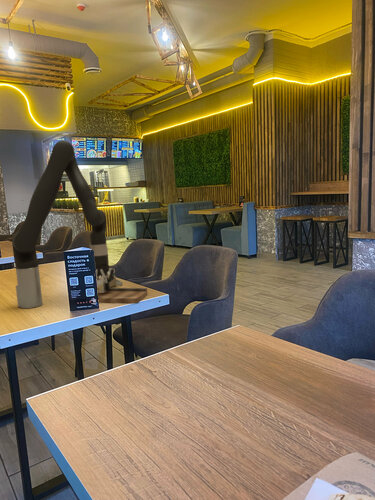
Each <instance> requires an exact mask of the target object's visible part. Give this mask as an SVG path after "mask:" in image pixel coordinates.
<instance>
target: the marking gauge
mask: <svg viewBox="0 0 375 500" xmlns="http://www.w3.org/2000/svg"><path fill="white" fill-rule="evenodd" d="M97 290H98V293H105V292H107V291H106V289H105V279H103V277H99V278H98V279H97Z"/></svg>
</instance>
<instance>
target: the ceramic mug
mask: <svg viewBox="0 0 375 500" xmlns="http://www.w3.org/2000/svg"><path fill="white" fill-rule="evenodd" d="M108 276H110V271H108ZM100 277H103V276H100ZM100 277H99V278H100ZM109 284H110V288H114V286H115V285H117V286H122V284H123V281H121V280H119V279H117V277H116V275H115V274H114V278H113V280H112V281H111V282H109Z"/></svg>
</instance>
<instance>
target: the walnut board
mask: <svg viewBox="0 0 375 500" xmlns="http://www.w3.org/2000/svg"><path fill="white" fill-rule="evenodd" d="M147 296H148V288H146V287H145V288H144V287H139V288H137V287H110V289H109V290H108V291H107V292H105V293H98V300H99V303H98V304H138V303H140V302H141V301H142V300H144V298H146V297H147Z"/></svg>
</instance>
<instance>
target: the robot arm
mask: <svg viewBox="0 0 375 500" xmlns="http://www.w3.org/2000/svg"><path fill="white" fill-rule="evenodd" d="M75 152H76V151H75V148H74V146H73V144H72V143H71V142H69V141H67V140H65V139H64V140H62V139H61V140H59V141H57V142H56V143H55V144H54V145H53V146H52V149H51V152H50V156H49V159H48V162H47V165H46V168H45V169H44V171H43V173H42V174H41V177H40V179H39V180H38V182H37V185H36V186H35V189H34V190H33V193H32V196H31V197H30V201H29V205H28V210H27V213H26V217H25V219H24V221H23V223H22V225H21V227H20V228H19V230H18V231H17V232H15V233H14V234H13V236H12V239H11V244H12V245H11V246H12V251H13V260H14V265H15V271H16V272H15V274H16V281H17V282H16V283H17V284H16V285H15V292H16V300H17V307H18V308H21V309H31V308H32V309H33V308H38V307H41V306H42V305H43V295H42V284H41V276H40V268H39V267H40V266H39V259H38V255H37V249H36V247H37V244H38V241H39V237H40V234H41V231H42V228H43V225H44V223H45V222H46V219H47V218H48V217H49V214H50V213H51V211H52V208H53V206H54V204H55V202H56V199H57V197H58V194H59V191H60V188H61V183H62V179H63V176H64V174H65V175H66V176H67V178H68V181H69V182H70V185H71V187H72V190H73V192H74V194H75V197H76V198H77V200H78V203H79V204H80V206H81V210H82V213H83V215H84V219H85V221H86V223H87V224H89V225H90V226H91V232H90V234H89V240H90V241H89V242H90V250H91V249H92V250H93V251H94V256H95V262H96V279H98V278H100V276H103V279H105V289H106V291H108V290H109V289H110V288H111V287H110V284H109V282H111V281H112V280H113V278H114V275H115V273H116V268H111V267H110V265H109V263H110V262H109V261H110V260H109V252H108V251H109V250H108V246H107V235H106V233H107V232H106V231H107V216H106V214H105V212H104V211H103V210H101V209H98V206H97V205H96V202H97V200H96V197H95V195H94V193H93V191H92V189H91V187H90V185H89V183H88V181H87V179H86V178H85V176H84V175H83V174H82V171H81V170H80V168H79V165H78V164H79V163H78V162H77V158H76V153H75ZM108 271H110V276H108Z"/></svg>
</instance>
